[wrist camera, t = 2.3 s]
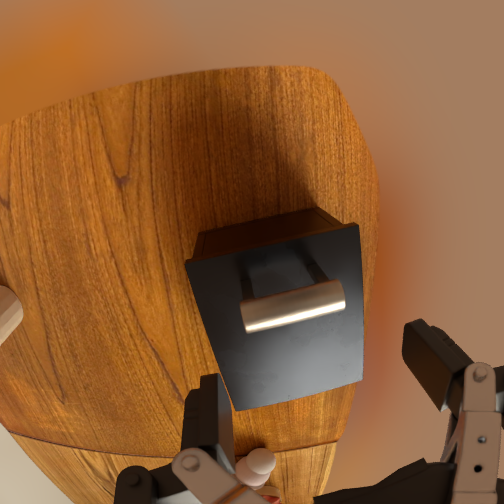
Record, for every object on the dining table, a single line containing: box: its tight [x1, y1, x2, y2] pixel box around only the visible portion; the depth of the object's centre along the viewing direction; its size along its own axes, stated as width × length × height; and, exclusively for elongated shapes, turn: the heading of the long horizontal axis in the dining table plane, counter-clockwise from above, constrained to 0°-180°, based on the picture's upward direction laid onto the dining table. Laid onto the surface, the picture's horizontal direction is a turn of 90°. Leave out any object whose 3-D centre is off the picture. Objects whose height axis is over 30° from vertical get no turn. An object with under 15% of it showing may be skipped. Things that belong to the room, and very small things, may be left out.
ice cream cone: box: [231, 448, 276, 490], centre depth 40 cm, size 6×6×15 cm
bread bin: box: [192, 207, 344, 258], centre depth 27 cm, size 14×12×9 cm
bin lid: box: [184, 222, 364, 411], centre depth 20 cm, size 14×12×6 cm
